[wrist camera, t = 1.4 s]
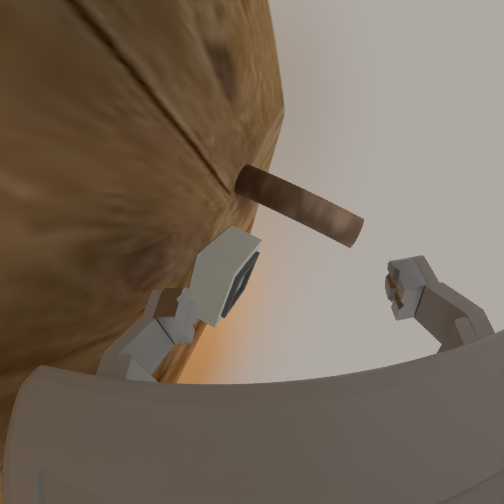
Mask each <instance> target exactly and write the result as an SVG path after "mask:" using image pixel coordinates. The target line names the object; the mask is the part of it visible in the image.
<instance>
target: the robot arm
mask: <svg viewBox="0 0 504 504" xmlns="http://www.w3.org/2000/svg"><path fill="white" fill-rule="evenodd" d="M387 269H388V271H389V274H388V275H387V276H386V280H385V289H386V294H387V297H388V299H389V300H390V301H391V302H393V303H392V307H391V308H392V311H393V313H394V316H395V319H396V320H401V319H407V318H412V317H414V318H415V319H416V320H417V321H418V322H419V323H420V324H421V325H422V326H423V327H424V328H426V329H427V330H428V331H429V332H430V333H431V334H432V335H433V336H434V337H435V338H436V339H437V340H438V341H439V342H440V343H441V344H442V345H441V347H440V349H439V350H438V352H437V354H434V355H430V356H427V357H423V358H420V359H416V360H412V361H408V362H404V363H400V364H396V365H391V366H387V367H382V368H378V369H372V370H367V371H361V372H356V373H350V374H345V375H338V376H331V377H323V378H316V379H307V380H297V381H286V382H272V383H255V384H227V385H226V384H208V385H207V384H177V383H161V382H157V381H156V380H155V379H154V378H153V377H152V376H151V375H152V373H153V372H154V371H155V369H156V368H157V367H158V366H159V364H160V363H161V362H162V360H163V359H164V358H165V357H166V355H167V354H168V353H169V351H170V350H171V349H172V348H173V346H174V344H188V343H192V342H193V337H194V332H195V330H194V328H193V325H194V324H195V323H196V322H197V317H198V310H197V306H196V303H195V301H194V300H193V299H191V298H189V297H190V292H189V290H188V288H186V287H180V288H165V289H154V290H153V291H152V292H151V295H150V297H149V300H148V303H147V305H146V308H145V311H144V313H143V316H142V319H138V320H137V321H136V322H135V323H134V324H133V325H131V326H130V327H129V328H128V329H127V330H126V331H125V332H124V333H123V334H122V335H121V336H120V337H119V338H118V339H117V340H116V341H114V342H113V343H112V344H111V345H110V346H109V347H108V348H107V349H106V350H105V351H104V352H103V355H102V358H101V360H100V363H99V366H98V369H97V371H96V374H95V375H92V374H86V373H81V372H75V371H70V370H65V369H60V368H56V367H51V366H47V365H40V366H39V367H37V368H36V369H35V370H34V371H33V372H32V373H31V374H30V375H29V376H28V377H27V378H26V379H25V380H24V381H23V382H22V384H21V386H20V388H19V390H18V393H17V396H16V399H15V402H14V406H13V409H12V413H11V417H10V421H9V426H8V430H7V436H6V442H5V448H4V457H3V468H2V490H3V498H4V503H5V504H504V330H502V331H500V332H497V333H495V332H494V331H493V328H492V326H491V324H490V322H489V320H488V318H487V316H486V314H485V312H484V310H483V309H481V308H480V307H478V306H477V305H475V304H474V303H473V302H471V301H470V300H468V299H467V298H465V297H464V296H462V295H461V294H459V293H458V292H456V291H455V290H453V289H452V288H450V287H449V286H447V285H446V284H444V283H439V281H438V279H437V278H436V276H435V274H434V272H433V271H432V269H431V267H430V266H429V264H428V262H427V260H426V259H425V257H424V256H416V257H411V258H405V259H399V260H393V261H389V263H388V268H387Z"/></svg>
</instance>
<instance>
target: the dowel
mask: <svg viewBox="0 0 504 504" xmlns="http://www.w3.org/2000/svg"><path fill="white" fill-rule="evenodd" d="M235 192H236V193H238V194H240V195H242V196H244V197H247V198H249V199H251V200H253V201H255V202H258V203H260V204H262V205H264V206H266V207H268V208H270V209H273V210H275V211H277V212H279V213H281V214H283V215H285V216H287V217H289V218H292V219H293V220H296V221H298V222H300V223H302V224H304V225H306V226H308V227H310V228H312V229H314V230H316V231H318V232H320V233H322V234H324V235H326V236H328V237H330V238H332V239H334V240H336V241H337V242H340V243H341V244H343V245H345V246H348V247H349V248H350V247H351V246H352V245H353V244H354V243H355V241H356V239H357V237H358V235H359V233H360V231H361V229H362V226H363V222H364V219H362V218H361V217H359V216H357V215H355V214H353V213H351V212H349V211H347V210H345V209H343V208H341V207H339V206H337V205H335V204H333V203H331V202H329V201H327V200H325V199H323V198H321V197H319V196H317V195H315V194H313V193H311V192H309V191H307V190H305V189H302V188H300V187H298V186H296V185H293V184H292V183H289V182H287V181H285V180H283V179H281V178H278V177H276V176H274V175H272V174H269V173H267V172H265V171H262V170H260V169H258V168H255V167H253V166H251V165H246V166H245V167H244V168H243V169H242V171H241V173H240V174H239V176H238V179H237V181H236V185H235Z"/></svg>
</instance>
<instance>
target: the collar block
mask: <svg viewBox="0 0 504 504" xmlns="http://www.w3.org/2000/svg"><path fill="white" fill-rule="evenodd" d="M261 241H262V240H261V239H259V238H257V237H255V236H253V235H251V234H249V233H247V232H245V231H243V230H241V229H238V228H236V227H234V226H232V225H231V226H230V227H229V228H228V229H226V230H225V231H224V232H223V233H222V234H220V235H219V236H218V237H217V238H216V239H215V240H213V241H212V242H211V243H210V244H209V245H208V246H206V247H205V248H204V249H203V250H202V251H201V252H200V253H198V254H197V257H196V261H195V265H194V269H193V273H192V278H191V282H190V286H189V292H190V297H189V298H191V299H193V300H194V301H195V303H196V306H197V310H198V317H197V318H198V319H200V320H202V321H204V322H205V323H207V324H209V325H211V326H212V327H215V326H216V325H217V323H218V322H219V321H220V319H221V318H222V317H223V318H225V317H226V315H227V314H228V312H229V311H230V310H231V308H232V306H233V305H234V304H235V302H236V301H237V300H238V298H239V297H240V295H241V294H242V292H243V291H244V289H245V287H246V284H247V282H248V280H249V277H250V275H251V272H252V270H253V268H254V265H255V263H256V260H257V258H258V255H259V252H257V251H258V248H259V246H260V243H261Z"/></svg>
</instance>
